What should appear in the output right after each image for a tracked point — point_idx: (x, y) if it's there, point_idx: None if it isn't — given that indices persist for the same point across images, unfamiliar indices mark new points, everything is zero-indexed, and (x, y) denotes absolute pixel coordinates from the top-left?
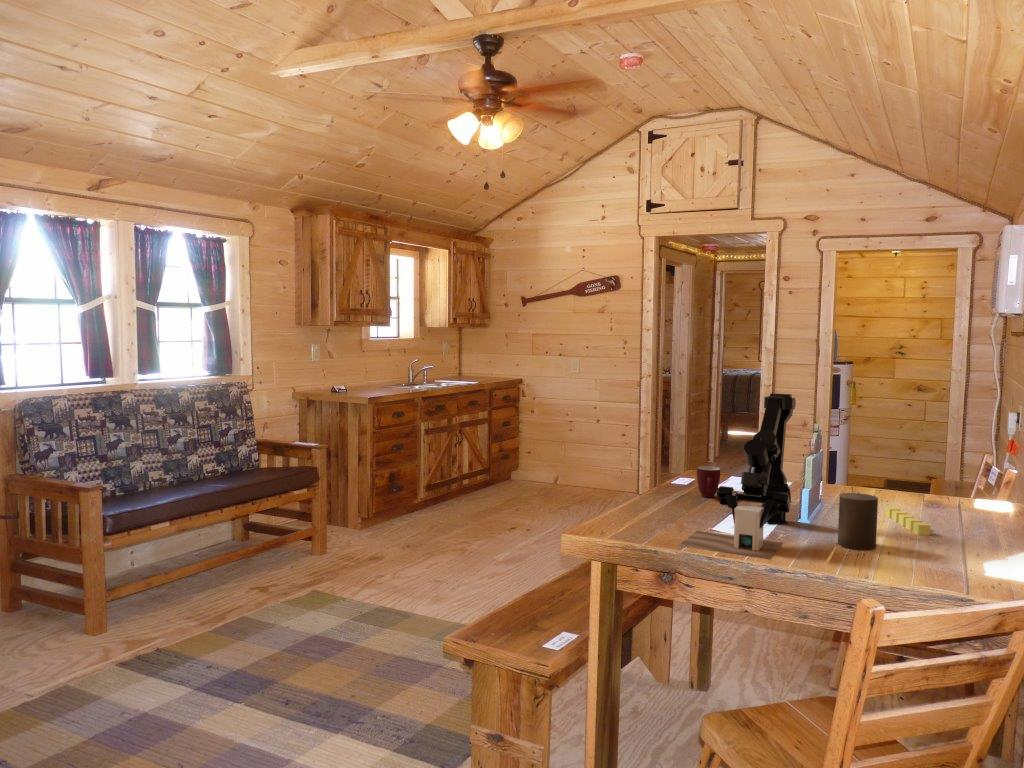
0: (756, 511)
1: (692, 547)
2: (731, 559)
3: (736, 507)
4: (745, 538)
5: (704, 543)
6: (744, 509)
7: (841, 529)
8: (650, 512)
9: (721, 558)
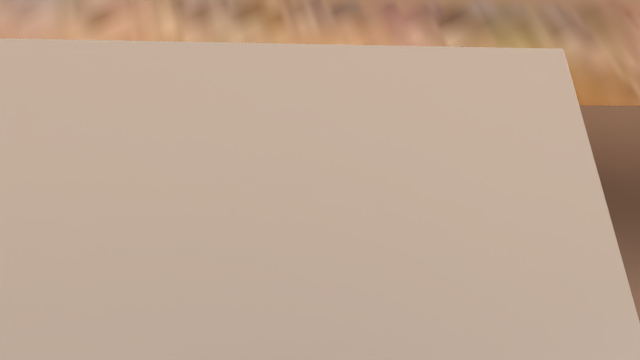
0: (49, 44)
1: (627, 115)
2: (316, 36)
3: (595, 207)
4: None
5: (624, 262)
6: (355, 104)
7: None
8: None
9: (377, 28)
